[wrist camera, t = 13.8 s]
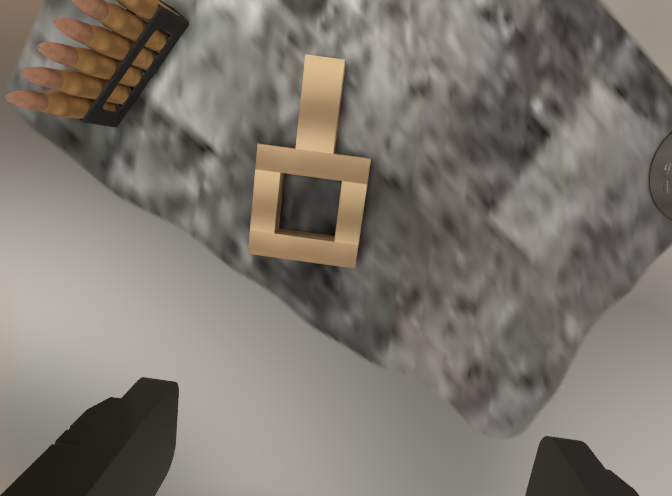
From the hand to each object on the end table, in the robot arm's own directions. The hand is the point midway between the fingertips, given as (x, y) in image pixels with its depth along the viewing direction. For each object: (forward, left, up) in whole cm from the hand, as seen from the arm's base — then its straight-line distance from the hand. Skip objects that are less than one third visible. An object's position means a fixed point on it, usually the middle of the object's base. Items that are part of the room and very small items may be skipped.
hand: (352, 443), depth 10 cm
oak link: (+4, -4, -30) cm, 31 cm away
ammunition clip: (+19, -10, -30) cm, 37 cm away
